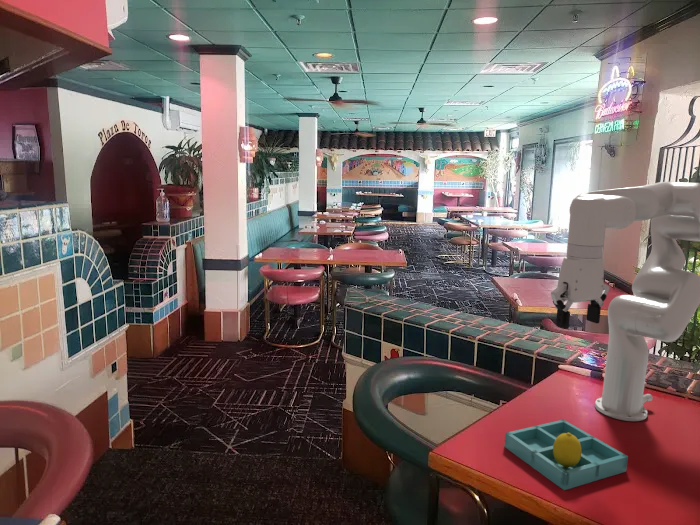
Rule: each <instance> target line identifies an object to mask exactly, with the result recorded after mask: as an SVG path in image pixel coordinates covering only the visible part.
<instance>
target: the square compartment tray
mask: <svg viewBox="0 0 700 525" xmlns="http://www.w3.org/2000/svg"><path fill="white" fill-rule="evenodd" d="M568 432H569V433H571V434H572V435H574V436H575V437H576V438H577V439H578V440H579V442H580V444H581V450H582V452H581V458H580V461H579V462H578V463H577V464H576V465H575V466H573V467H568V468H564V467H563V466H562V465H560V464H559V463H558V462H557V461H556V460H555V457H554V455H553V445H554V442H555V440H556V438H557V437H558V436H559V435H560V434H563V433H568ZM504 448H505V449H506V450H508V451H510V452H511V453H512V454H513V455H514V456H516V457H517V458H519V459H520V460H522V461H523V462H525V464H528V465H529V466H530V467H531V468H532V469H534V470H535V471H537V472H539V474H541V475H542V476H544V477H545V478H546V479H547V480H549V481H551V482H552V483H553V484H555V485H556V486H557V487H558V488H561V489H562V490H563V491H566V490H570V489H574V488H576V487H580V486H583V485H587V484H590V483H593V482H596V481H599V480H602V479H606V478H610V477H612V476H615V475H619V474H622V473H625V472H627V469H628V467H627V466H628V462H629V461H628V460H629V456H628V455H627V454H625V453H623V452H621V451H619V450H618V449H617V448H614V447H612V446H611V445H609V444H608V443H606V442H604V441H603V440H600V439H599V438H598V437H595V436H594V435H591V434H590V433H589V432H586V431H585V430H583V429H581V428H579V427H577V426H576V425H574V424H572V423H570V422H569V421H567V420H566V419H559V420H555V421H551V422H546V423H542V424H538V425H534V426H528V427H526V428H525V427H524V428H521V429H516V430H512V431H508V432H505V436H504Z"/></svg>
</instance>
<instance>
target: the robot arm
mask: <svg viewBox="0 0 700 525" xmlns="http://www.w3.org/2000/svg"><path fill="white" fill-rule="evenodd" d="M569 215H570V216H569V223H568V233H567V234H568V235H567V244H566V245H567V246H566V254H565V255H566V256H565V257H563V259H562V263H561V266H560V269H559V273H558V274H559V276H558V281H557V288H554V290H552V291H551V292H550V295H551V296H550V297H551V300H552V304H553V305H554V307H555V309H556V310H557V311H556V320H555V321H556V322H555V325H556V326H558V327H560V328H563V329H569V327H570V320H571V319H570V318H571V317H570V315H571V310H570V308H571V306H572V305H573V304H574V303H584V302H589V303H588V304H587V308H586V309H587V310H586V320H587V321H589V322H591V323H594V324H600V319H601V309H602V307H603V305H604V301H605V300H606V299H607V295H608V293H609V291H610V286H609V285H607V283H604V282H605V280H604V277H605V276H604V275H605V272H604V271H605V266H604V246H605V237H606V229H612V230H613V229H614V230H621V229H625V228H628V227H630V226H631V225H632V224H633V222H640V221H641V222H643V221H648V220H650V237H651V251H650V253H649V255H648V257H647V259H646V260H645V262H644V263H643V264H642V266H641V268H640V269H639V271H638V272H637V274H636V275H635V277H634V279H633V281H632V285H631V291H632V293H633V295H632V294H621V295H616V296H615V297H614V298H613V299H611V301H610V302H609V305H608V308H607V321H608V344H607V351H606V352H607V353H606V360H605V368H604V370H605V371H604V376H603V377H604V378H603V386H602V393H601V394H602V395H601V397H598V398H596V400H595V402H594V408H595V409H596V410H597V411H598V412H600V413H601V414H602V415H605V416H607V417H609V418H613V419H616V420H620V421H626V422H640V421H644V420H646V419H647V418H648V413H649V412H648V410H647V409H646V408H645V407H644V404H645V403H646V402H647V403H648V402H651V401H653V398H654V397H653V395H652V394H651V393H646V394H644V391H645V382H646V375H647V368H648V360H649V355H650V354H649V353H650V351H649V345H648V343H647V341H646V338H649V339H653V340H657V341H660V342H666V343H672V342H675V341H677V340H678V339H680V337H681V336H682V334H683V333H684V331H685V330H686V328H687V326H688V325H689V323H690V321H691V319H692V318H693V316H694V314H695V313H696V312H697V311H696V310H698V308H699V306H700V275H699V274H697V273H696V272H692V271H688V270H683V268H684V266H686V256H685V254H684V252H683V250H682V247H681V246H680V245H679V244H678V242H677V240H684V241H691V242H699V243H700V182H685V181H684V182H682V181H659V182H655V183H651V184H645V185H640V186H629V187H623V188H621V187H620V188H612V189H611V188H610V189H601V190H593V191H588V192H587V191H586V192H584V193H580V194H579V195H577V196H575V198H573V199H572V201H571V204H570V206H569ZM569 310H570V311H569Z"/></svg>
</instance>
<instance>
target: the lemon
mask: <svg viewBox="0 0 700 525" xmlns="http://www.w3.org/2000/svg"><path fill="white" fill-rule="evenodd" d="M581 452H582V450H581V444H580V442H579V440H578V439H577V438H576V437H575V436H574V435H572V434H571V433H569V432H568V433H563V434H560V435H559V436H558V437H557V438H556V440H555V442H554V445H553V455H554V457H555V460H556V461H557V462H558V463H559V464H560V465H562V466H563V467H564V468H568V467H573V466H575V465H576V464H577V463H578V462H579V461H580V458H581Z"/></svg>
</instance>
